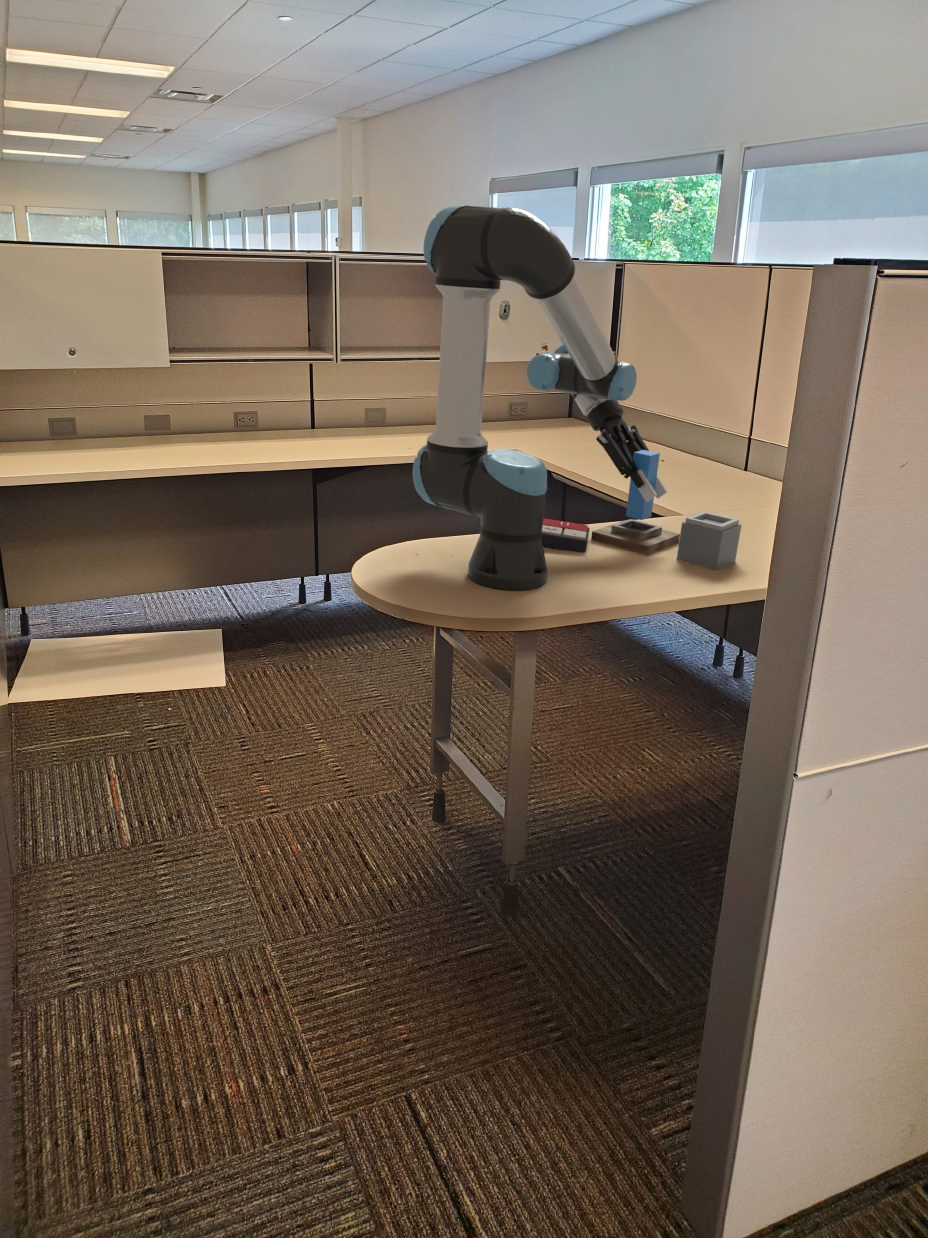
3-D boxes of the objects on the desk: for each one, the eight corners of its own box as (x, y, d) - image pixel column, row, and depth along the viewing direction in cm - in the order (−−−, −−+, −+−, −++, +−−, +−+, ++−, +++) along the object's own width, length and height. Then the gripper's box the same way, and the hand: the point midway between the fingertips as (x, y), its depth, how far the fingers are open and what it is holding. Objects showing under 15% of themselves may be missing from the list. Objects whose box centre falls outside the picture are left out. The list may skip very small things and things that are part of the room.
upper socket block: (716, 570, 191) (723, 527, 187) (676, 559, 196) (682, 517, 193) (735, 561, 197) (742, 519, 194) (696, 550, 202) (702, 510, 199)
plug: (641, 520, 202) (650, 455, 196) (625, 515, 204) (633, 452, 199) (651, 516, 205) (659, 453, 199) (635, 512, 207) (643, 449, 202)
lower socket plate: (647, 555, 197) (649, 539, 196) (591, 540, 205) (592, 524, 204) (678, 542, 207) (681, 527, 206) (624, 528, 215) (626, 513, 214)
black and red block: (588, 537, 195) (517, 526, 197) (584, 557, 197) (514, 546, 199) (590, 523, 205) (523, 513, 207) (587, 542, 207) (520, 532, 209)
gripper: (590, 399, 195) (649, 493, 191) (632, 393, 207) (689, 481, 204) (566, 421, 200) (624, 513, 197) (609, 413, 212) (664, 499, 209)
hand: (657, 496), depth 200 cm, fingers closed on plug, 4 cm apart
